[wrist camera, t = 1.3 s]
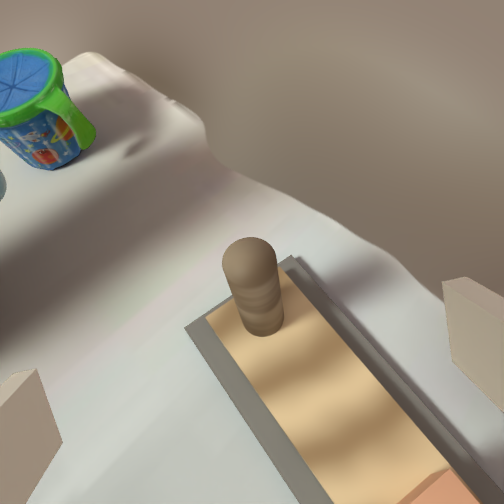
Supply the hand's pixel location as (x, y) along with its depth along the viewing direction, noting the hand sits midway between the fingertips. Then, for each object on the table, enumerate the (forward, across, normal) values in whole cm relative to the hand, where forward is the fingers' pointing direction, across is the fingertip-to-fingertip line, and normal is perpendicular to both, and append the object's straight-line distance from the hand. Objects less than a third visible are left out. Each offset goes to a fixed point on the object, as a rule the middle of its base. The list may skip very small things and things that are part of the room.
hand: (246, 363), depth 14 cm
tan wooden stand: (+17, +5, -16) cm, 24 cm away
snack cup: (+44, -21, +11) cm, 50 cm away
